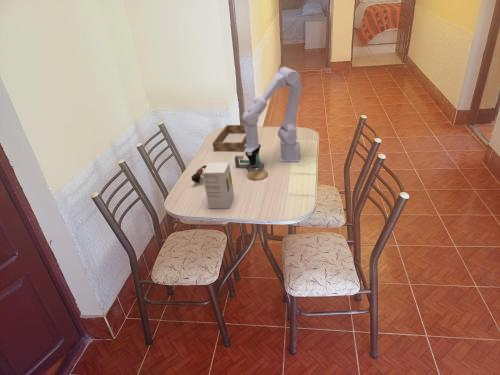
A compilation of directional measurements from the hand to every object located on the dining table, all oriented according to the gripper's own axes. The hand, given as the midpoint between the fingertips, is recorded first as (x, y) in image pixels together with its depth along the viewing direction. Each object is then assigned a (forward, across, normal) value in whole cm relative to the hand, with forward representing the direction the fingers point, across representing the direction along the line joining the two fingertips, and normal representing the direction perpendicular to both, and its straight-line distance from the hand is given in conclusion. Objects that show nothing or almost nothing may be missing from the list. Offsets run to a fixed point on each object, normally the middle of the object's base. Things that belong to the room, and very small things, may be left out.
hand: (254, 162), depth 174 cm
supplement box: (+3, +32, -7) cm, 33 cm away
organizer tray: (+3, -30, -19) cm, 36 cm away
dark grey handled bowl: (+3, 0, -3) cm, 4 cm away
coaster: (+3, +8, +3) cm, 9 cm away
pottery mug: (+3, +16, -22) cm, 27 cm away
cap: (0, 0, -2) cm, 2 cm away
